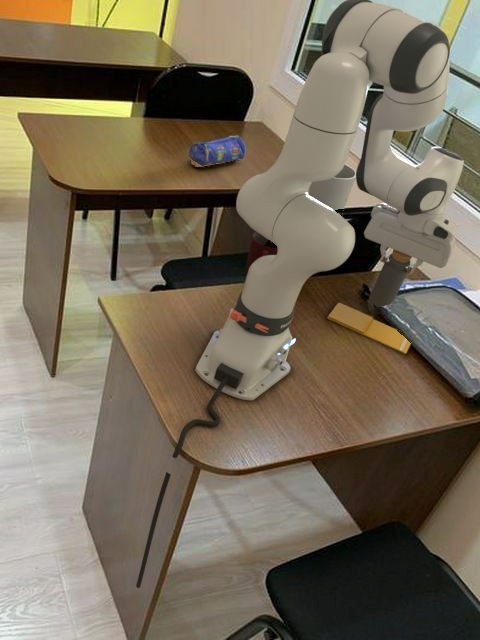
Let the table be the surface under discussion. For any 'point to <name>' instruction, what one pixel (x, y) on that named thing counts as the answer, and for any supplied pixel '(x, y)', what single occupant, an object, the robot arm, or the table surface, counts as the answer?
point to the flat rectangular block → (369, 327)
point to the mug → (258, 249)
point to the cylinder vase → (334, 189)
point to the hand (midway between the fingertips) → (396, 266)
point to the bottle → (390, 279)
